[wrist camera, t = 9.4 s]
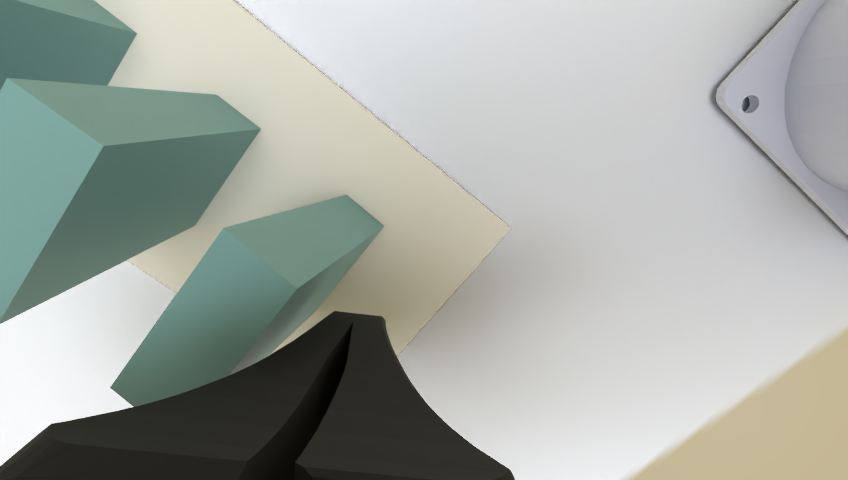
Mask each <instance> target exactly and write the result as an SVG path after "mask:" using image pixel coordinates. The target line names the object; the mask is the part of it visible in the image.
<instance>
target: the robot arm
mask: <svg viewBox="0 0 848 480" xmlns="http://www.w3.org/2000/svg"><path fill="white" fill-rule="evenodd" d="M746 97H748V98H749V100H750V105H749V107H748V109H747V110H746V111H745V112H744V111H743V110H742V108H741V107H742V102H743V100H744V99H745V98H746ZM716 102H717V104H718V105H719V107H720V108H721V109H722V110H723V111H724V112H725V113H726V114H727V115H728V116H729V117H730V118H731V119H732V120H733V121H734V122H735V123H736V124H737V125H738V126H739V127H740V128H741V129H742V130H743V131H744V132H745V133H746V134H747V135H748V136H749V137H750V138H751V139H752V140H753V141H754V142H755V143H756V144H757V145H758V146H759V147H760V148H761V149H762V150H763V151H764V152H765V153H766V154H767V155H768V156H769V157H770V158H771V159H772V160H773V161H774V162H775V163H776V164H777V165H778V166H779V167H780V168H781V169H782V170H783V171H784V172H785V173H786V174H787V175H788V176H789V177H790V178H791V179H792V180H793V181H794V182H795V183H796V184H797V185H798V186H799V187H800V188H801V189H802V190H803V191H804V192H805V193H806V194H807V195H808V196H809V197H810V198H811V199H812V200H813V201H814V202H815V203H816V204H817V205H818V206H819V207H820V208H821V209H822V210H823V211H824V212H825V213H826V214H827V215H828V216H829V217H830V218H831V219H832V220H833V221H834V222H835V223H836V224H837V225H838V226H839V227H840V228H841V229H842V230H843V231H844V232H845V233H846V234H847V235H848V0H799V1H798V2H797V3H796V4H795V5H794V6H793V8H792V9H791V10H790V11H789V12H788V13H787V14H786V15H785V16H784V17H783V18H782V19H781V20H780V21H779V22H778V23H777V25H776V26H775V27H774V28H773V29H772V30H771V31H770V32H769V33H768V34H767V35H766V36H765V37H764V38H763V39H762V40H761V41H760V43H759V44H758V45H757V46H756V47H755V48H754V49H753V50H752V51H751V52H750V53H749V54H748V55H747V56H746V57H745V58H744V60H743V61H742V62H741V63H740V64H739V65H738V66H737V67H736V68H735V69H734V70H733V71H732V72H731V73H730V74H729V75H728V76H727V78H726V79H725V80H724V81H723V82H722V83H721V84H720V86H719V87H718V89H717V92H716ZM0 480H515V479H514V477H513V474H512V472H511V471H510V469H508V468H507V467H505V466H503V465H502V464H500V463H499V462H497V461H496V460H494V459H493V458H491V457H490V456H488V455H487V454H485V453H483V452H482V451H480V450H479V449H477V448H476V447H474V446H473V445H472V444H470V443H469V442H468V441H467V440H465V439H464V438H463V437H462V436H460V435H459V434H458V433H457V432H455V431H454V430H453V429H452V428H451V427H450V426H448V425H447V424H446V423H445V422H444V421H443V420H442V419H441V418H440V417H439V416H438V415H437V414H436V413H435V412H434V411H433V410H432V409H431V408H430V407H429V406H428V404H427V403H426V402H425V401H424V400H423V398H422V397H421V396H420V394H419V393H418V392H417V390H416V389H415V388H414V386H413V385H412V383H411V382H410V380H409V378H408V377H407V375H406V373H405V372H404V370H403V368H402V366H401V364H400V362H399V360H398V358H397V356H396V354H395V352H394V350H393V347H392V345H391V342H390V340H389V336H388V333H387V329H386V321H385V319H384V318H383V317H382V316H375V315H366V314H357V313H348V312H340V311H334V312H332V313H331V314H329V315H328V316H327V317H325V318H324V319H323V320H321V321H320V322H319V323H317V324H316V325H314V326H313V327H312V328H310V329H309V330H308V331H306V332H305V333H304V334H302V335H301V336H299V337H298V338H296V339H295V340H294V341H292V342H290V343H289V344H287V345H285V346H284V347H282V348H280V349H279V350H277V351H276V352H274V353H272V354H271V355H269V356H267V357H266V358H264V359H262V360H260V361H258V362H256V363H254V364H252V365H251V366H248V367H246V368H244V369H242V370H240V371H238V372H236V373H234V374H231V375H229V376H227V377H224V378H222V379H219V380H216V381H214V382H211V383H208V384H206V385H203V386H201V387H198V388H195V389H193V390H190V391H187V392H184V393H181V394H178V395H175V396H172V397H168V398H165V399H162V400H158V401H155V402H151V403H147V404H144V405H140V406H136V407H132V408H128V409H124V410H120V411H115V412H110V413H105V414H101V415H96V416H91V417H86V418H81V419H76V420H71V421H66V422H61V423H55V424H51V425H49V426H48V427H47V428H46V429H44V430H43V431H42V432H41V433H39V434H38V435H37V436H36V437H35V438H34V439H32V440H31V441H30V442H29V443H28V444H26V445H25V446H24V447H23V448H22V449H20V450H19V451H18V452H17V453H16V454H15V455H13V456H12V457H11V458H10V459H9V460H7V461H6V462H5V463H4V464H3V465H1V466H0Z"/></svg>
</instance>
